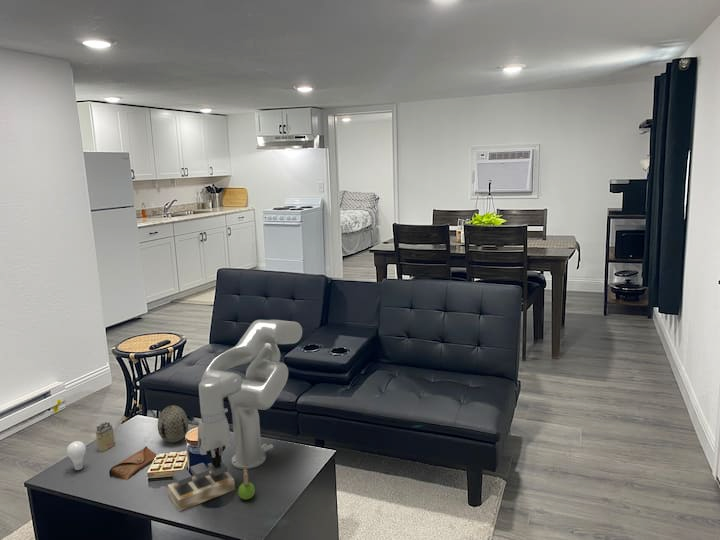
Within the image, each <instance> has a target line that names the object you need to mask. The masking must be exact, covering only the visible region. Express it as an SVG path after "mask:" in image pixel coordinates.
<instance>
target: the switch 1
mask: <svg viewBox="0 0 720 540" xmlns="http://www.w3.org/2000/svg"><path fill="white" fill-rule="evenodd" d="M191 474H192V473H191V472H189V471H188V469H187V468H183V469H181V470H177V471H174V472H172V479H173V480H174V481H175V482H176V483H177V484H178V485H179V486H180V485H185V484H186V483H189V482H191V481H192V476H193V475H191Z"/></svg>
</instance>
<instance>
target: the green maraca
mask: <svg viewBox="0 0 720 540" xmlns="http://www.w3.org/2000/svg"><path fill="white" fill-rule="evenodd" d="M242 474H243V475H242V477H243V479H242V480H243V481H242V483H241V484H240V485H239V487H238V489H237V493H238V495H239V497H240V498H241V499H242V500H250V499H252V498H253V497H254V495H255V491H256V489H255V486H254V484H253V483H252V482H249V473H248V469H246V468H244V469H242Z"/></svg>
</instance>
